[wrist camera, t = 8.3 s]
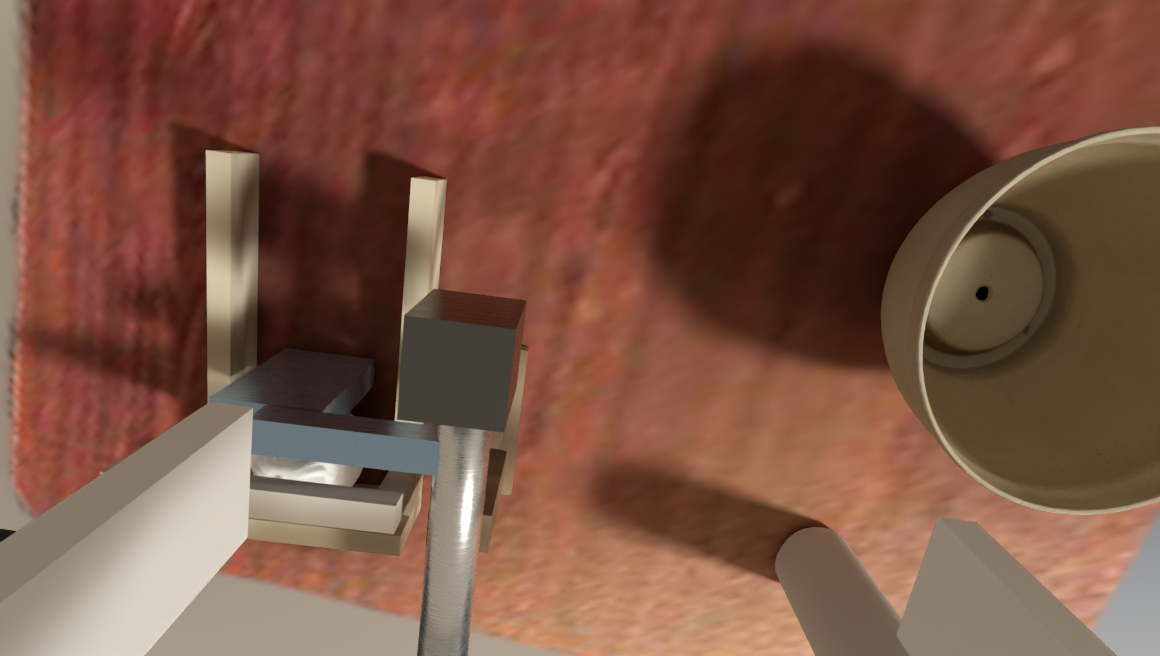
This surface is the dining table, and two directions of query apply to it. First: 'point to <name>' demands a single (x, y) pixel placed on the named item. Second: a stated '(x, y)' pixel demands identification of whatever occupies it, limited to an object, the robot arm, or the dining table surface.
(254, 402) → the hammer
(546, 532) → the dining table surface
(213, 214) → the beige open frame
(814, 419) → the dining table surface
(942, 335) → the planter bowl
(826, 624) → the beverage can
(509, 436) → the cream cubby shelf
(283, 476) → the white lumpy mound
